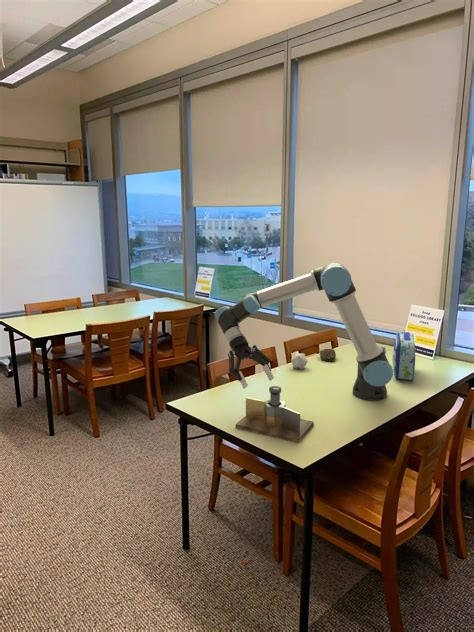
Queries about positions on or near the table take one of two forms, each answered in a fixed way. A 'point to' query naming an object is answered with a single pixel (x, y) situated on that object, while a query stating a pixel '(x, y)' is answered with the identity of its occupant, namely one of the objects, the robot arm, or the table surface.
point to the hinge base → (274, 429)
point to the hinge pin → (275, 395)
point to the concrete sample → (328, 355)
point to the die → (299, 360)
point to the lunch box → (404, 356)
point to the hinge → (273, 414)
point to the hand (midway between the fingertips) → (259, 383)
